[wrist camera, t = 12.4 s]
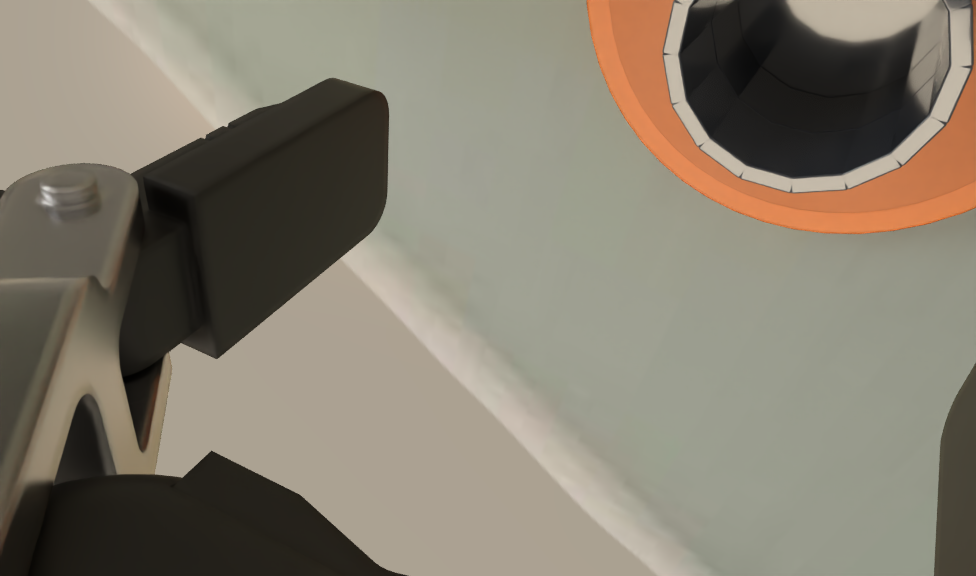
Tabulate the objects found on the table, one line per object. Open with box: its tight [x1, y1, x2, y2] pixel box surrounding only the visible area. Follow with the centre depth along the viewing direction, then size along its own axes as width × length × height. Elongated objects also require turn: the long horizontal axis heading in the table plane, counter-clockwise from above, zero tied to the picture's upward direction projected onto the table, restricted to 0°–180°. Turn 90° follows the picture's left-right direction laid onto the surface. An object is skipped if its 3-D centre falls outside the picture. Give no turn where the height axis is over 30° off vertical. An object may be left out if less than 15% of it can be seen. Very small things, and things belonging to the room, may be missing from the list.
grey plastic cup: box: [662, 0, 976, 194], centre depth 19 cm, size 6×6×6 cm
